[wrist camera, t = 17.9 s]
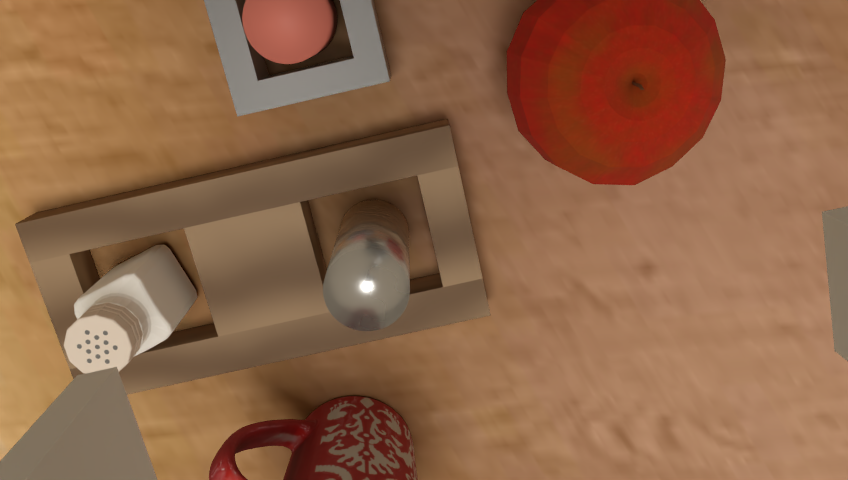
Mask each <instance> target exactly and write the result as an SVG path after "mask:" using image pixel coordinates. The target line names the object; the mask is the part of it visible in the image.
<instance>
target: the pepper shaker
mask: <svg viewBox="0 0 848 480" xmlns="http://www.w3.org/2000/svg"><path fill="white" fill-rule="evenodd" d="M196 299H197V293H196V290H195V288H194V286H193V285H192V283H191V282H190V280H189V278H188V277H187V275H186V274H185V272H184V271H183V269H182V267H181V266H180V264H179V263H178V261H177V260H176V258H175V256H174V255H173V253H172V252H171V250H170V249H169V248H168V247H167V246H166V245H155V246H153V247H151V248H149V249H147V250H145V251H144V252H142V253H140V254H138V255H136V256H134V257H132V258H130V259H128V260H126V261H124V262H123V263H121V264H119V265H117V266H115V267H113V268H112V269H111V270H110V271H109V272H108V273H107V274H105V275H104V276H103V277H102V278H101V279H100V280H99V281H98V282H96V283H95V284H94V285H93V286H92V287H91V288H90V289H88V290H87V291H86V292H85V293H84V294H83V295H82V296H81V297H79V298H78V300H77V301H76V302H75V304H74V311H75V316H76V318H77V320H76V321H75V322H74V323H73V324H72V325H71V326H70V327H69V328H68V329H67V332H66V336H65V341H64V348H65V351H66V353H67V356H68V359H69V361H70V362H71V363H72V364H73V365H74V366H75V367H77V368H78V369H79V370H80V371H81V372H82V373H85V374H86V373H91V372H95V371H100V370H104V369H109V368H113V367H117V369H118V372H119V371H120V370H122V369H123V368H124V367H125V366H126V365H127V364H128V363H129V362H130V361H131V359H132V358H133V357H134V356H136V355H138V354H140V353H143V352H144V351H146V350H148V349H150V348H152V347H154V346H156V345H157V344H159V343H161V342H163V341H164V340H166V339H167V338H168V337H169V336H170V335H171V333H172V332H173V331H174V329H175V328H176V327H177V325H178V324H179V323H180V321H181V320H182V318H183V317H184V316H185V314H186V313H187V312H188V310H189V309H190V307H191V306H192V305H193V303H194V302H195V300H196Z"/></svg>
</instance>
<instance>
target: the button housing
mask: <svg viewBox="0 0 848 480" xmlns="http://www.w3.org/2000/svg"><path fill="white" fill-rule="evenodd" d="M245 1H246V0H204V2H205V6H206V9H207V12H208V16H209V19H210V23H211V26H212V30H213V33H214V37H215V40H216V44H217V47H218V51H219V54H220V58H221V61H222V65H223V68H224V71H225V75H226V78H227V82H228V85H229V89H230V92H231V96H232V99H233V103H234V106H235V110H236V113H237V116H242V115H246V114H250V113H255V112H259V111H263V110H268V109H272V108H276V107H281V106H285V105H289V104H294V103H298V102H302V101H307V100H311V99H315V98H320V97H324V96H328V95H333V94H337V93H341V92H346V91H350V90H354V89H359V88H363V87H367V86H372V85H376V84H380V83H385V82H389V81H390V78H391V73H390V69H389V65H388V60H387V56H386V52H385V47H384V43H383V39H382V35H381V30H380V26H379V22H378V17H377V13H376V9H375V4H374V0H340V3H341V7H342V11H343V16H344V20H345V24H346V28H347V32H348V36H349V40H350V44H351V48H352V53H353V56H350V57H346V58H341V59H337V60H333V61H328V62H324V63H320V64H315V65H311V66H307V67H303V68H298V69H294V70H290V71H285V72H281V73H277V74H272V75H269V74H268V70H267V66H266V63H265V59H264V57H263V56H262V55H260V54H259V53H258V52H257V51H256V50H255V49H254V48H253V47H252V45H251V44H250V42H249V41H248V39H247V37H246V34H245V31H244V28H243V21H242V14H243V7H244V4H245Z"/></svg>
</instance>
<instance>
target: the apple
mask: <svg viewBox="0 0 848 480" xmlns="http://www.w3.org/2000/svg"><path fill="white" fill-rule="evenodd" d="M725 60H726V59H725V55H724V52H723V48H722V45H721V41H720V38H719V34H718V30H717V27H716V23H715V20H714V18H713V17H712V16H711V15H710V13H709V12H708V11H707V9H706V8H705V7H704V5H703V4H702V3H701V1H700V0H537V1H536V2H535V3H534V4H533V5H531V6H530V7H529V8H528V9H527V10H526V11H525V12H524V13H523V15H522V17H521V20H520V22H519V24H518V27H517V29H516V32H515V34H514V36H513V39H512V41H511V43H510V46H509V48H508V50H507V93H508V97H509V100H510V103H511V107H512V110H513V114H514V117H515V120H516V124H517V127H518V131H519V132H520V133H521V134H522V135H523V136H524V137H525V138H526V139H527V140H528V141H529V143H530V144H531V145H532V146H533V147H534V148H535V149H536V150H537V151H538V152H539V153H540V154H541V156H542V157H543V158H544V159H545V160H547V161H549V162H551V163H552V164H554V165H556V166H558V167H560V168H562V169H564V170H566V171H568V172H570V173H572V174H574V175H576V176H578V177H580V178H582V179H584V180H586V181H588V182H590V183H592V184H614V185H636V184H638V183H640V182H642V181H644V180H646V179H648V178H650V177H652V176H654V175H656V174H658V173H660V172H662V171H664V170H666V169H668V168H670V167H672V166H673V165H674V164H675V163H676V162H677V161H678V160H680V159H681V158H682V157H683V156H684V155H685V154H686V153H687V152H688V151H689V150H690V149H691V148H692V147H693V146H694V145H695V144H696V143H697V142H699V141H700V140H701V139H702V138H703V136H704V134H705V132H706V130H707V128H708V125H709V123H710V121H711V119H712V117H713V115H714V113H715V111H716V109H717V107H718V105H719V103H720V101H721V94H722V86H723V77H724V69H725Z"/></svg>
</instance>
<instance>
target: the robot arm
mask: <svg viewBox="0 0 848 480" xmlns="http://www.w3.org/2000/svg"><path fill="white" fill-rule="evenodd" d="M822 218H823V229H824V240H825V251H826V262H827V273H828V283H829V294H830V305H831V316H832V327H833V338H834V349H835V352H837V353H838V354H839V355H840V356H842V357H843V358H844V359H845V360H847V361H848V206H847V207H842V208H838V209H833V210H829V211H824V212H822ZM0 480H157V477H156V475H155V472H154V469H153V466H152V463H151V461H150V458H149V455H148V452H147V450H146V447H145V444H144V441H143V438H142V436H141V433H140V430H139V427H138V425H137V422H136V419H135V416H134V413H133V411H132V408H131V405H130V402H129V400H128V397H127V394H126V391H125V388H124V386H123V383H122V380H121V377H120V375H119V372H118V369H117V367H113V368H109V369H104V370H100V371H95V372H91V373H86V374H81V375H77V376H76V377H75V378H74V379H73V381H72V382H71V383H70V384H69V385H68V386H67V387H66V388H65V390H64V391H63V392H62V393H61V394H60V395H59V396H58V397H57V398H56V400H55V401H54V402H53V403H52V404H51V405H50V406H49V407H48V408H47V410H46V411H45V412H44V413H43V414H42V415H41V416H40V417H39V419H38V420H37V421H36V422H35V423H34V424H33V425H32V426H31V427H30V429H29V430H28V431H27V432H26V433H25V434H24V435H23V436H22V438H21V439H20V440H19V441H18V442H17V443H16V444H15V445H14V446H13V448H12V449H11V450H10V451H9V452H8V453H7V454H6V455H5V456H4V458H3V459H2V460H1V461H0Z"/></svg>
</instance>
